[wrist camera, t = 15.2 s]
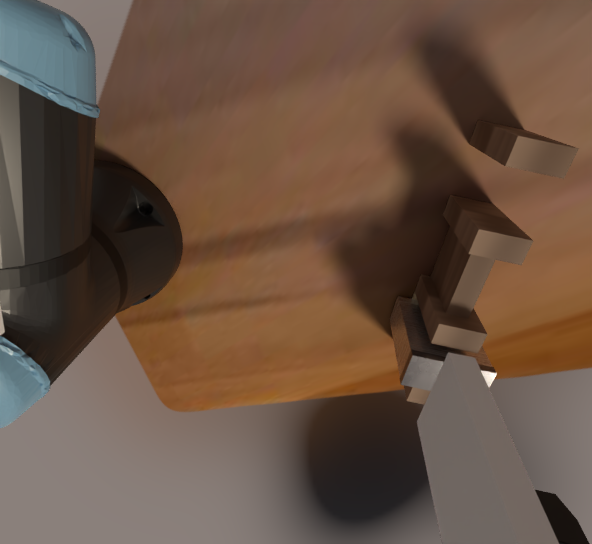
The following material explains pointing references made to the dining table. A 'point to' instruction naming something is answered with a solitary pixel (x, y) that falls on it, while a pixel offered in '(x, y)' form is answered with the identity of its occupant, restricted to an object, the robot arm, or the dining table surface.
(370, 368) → the dining table surface
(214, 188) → the dining table surface
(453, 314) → the brown long notched block
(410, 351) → the bracket plate
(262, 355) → the dining table surface
